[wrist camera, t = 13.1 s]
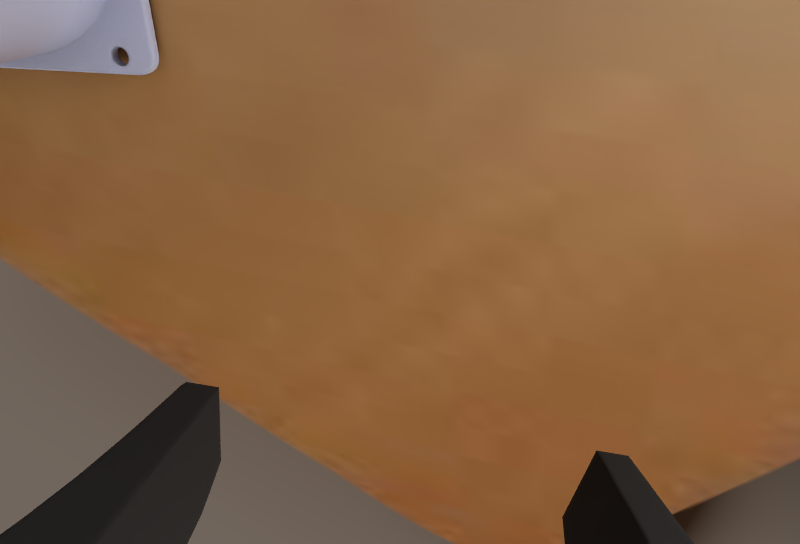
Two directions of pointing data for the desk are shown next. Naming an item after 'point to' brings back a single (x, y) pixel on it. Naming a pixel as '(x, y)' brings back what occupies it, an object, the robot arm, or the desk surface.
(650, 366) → the desk surface
